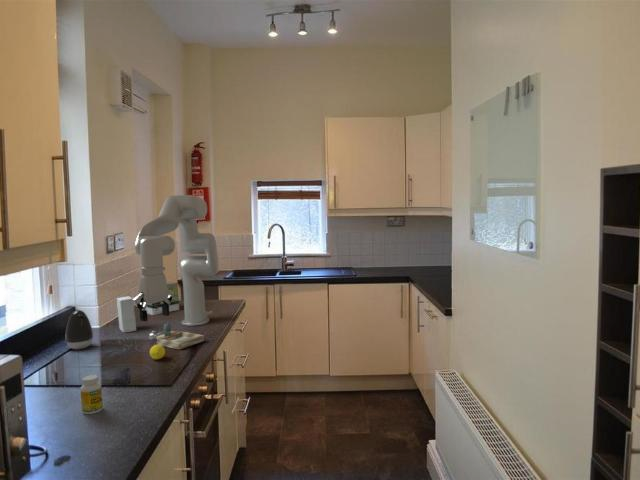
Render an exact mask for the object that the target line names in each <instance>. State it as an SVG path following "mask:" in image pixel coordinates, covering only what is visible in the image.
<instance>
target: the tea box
mask: <svg viewBox="0 0 640 480" xmlns="http://www.w3.org/2000/svg"><path fill="white" fill-rule="evenodd" d="M166 282H167V288H168V290H171V291H173V292H174V294H173V297H172V300H171V302H170V305H169V313H171V312H176V311H179V310H180V303H179V290H178V283H177V282H173V281H168V280H166ZM162 304H163V303H162V302H157V303H153V304H148V306H147V308H146V309H145V310H147V315H151V316H156V315H162Z"/></svg>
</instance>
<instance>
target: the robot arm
mask: <svg viewBox="0 0 640 480" xmlns="http://www.w3.org/2000/svg"><path fill="white" fill-rule="evenodd" d="M207 213H208V205H207V202H206V201H205V199H203V198H201V197H199V196H197V195H192V194H187V195H186V194H184V195H183V194H182V195H176V194H175V195H171V196H167V197H166V199H165V200H164V202H163V204H162V206H161V209H160V211H159V214H158V215H157V217H156V218H153V219H152V220H151V221H148V223H146V224H145V225H143V226H142V227H141V228H140V230H139V232H138V234H137V235H136V238H135V241H134V250H135V252H136V254H138V256H140V263H141V264H140V266H141V267H140V269H141V276H139V280H138V287H137V288H138V289H137V290H138V292H137V294H138V295H136V296H135V297H133V303H134V308H136V309H137V310H139V320H140V322H148V314H147V310H145V309H146V308H147V306H148V304H153V303H157V302H162V303H163V304H162V313H161V315H162V316H166V317H169V316H170V312H169V305H170V302H171V300H172V297H173V294H174V292H173V291H171V290H168V288H167V278H166V275H165V273H164V271H166V267H165V266H164V264H163V263H164V262H163V261H164V260H163V259H164V258H163V257H164V256H165V257H166V256H169V255H172V253H174V251H175V248H176V244H175V243H176V242H175V240H174V238H173V237H171V236H169V235H166V234H168V233H169V234H170V233H171V232H173V231H175V230H177V228H178V234H179V243H180V249H181V252H183V253H184V254H185V255H187V256H184V257H182V258H181V259H180V261H179V269H180V274H181V279H182V291H183V306H184V307H183V309H184V312H183V313H184V319H182V320H181V325H184V326H188V327H189V326H190V327H191V326H194V327H195V326H202V325H206V324H208V323H210V319H209V316H212V315H213V314H214V313H213V310H210V311H206V299H205V285H204V282H203V281H202V279H201V278H200V277H209V276H210V277H211V276H216V275H217V274H218V272H219V258H218V257H219V256H218V247H217V240H216V237H215V235H214V234H213V233H211V232H199V227H198V226H199V225H198V222H197V219H203V218H205V217H206V216H207ZM188 254H189V255H188ZM200 254H201V255H200ZM202 254H203V255H202Z"/></svg>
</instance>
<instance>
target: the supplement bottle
mask: <svg viewBox="0 0 640 480" xmlns="http://www.w3.org/2000/svg"><path fill="white" fill-rule="evenodd" d="M81 381H82V385H81V386H80V389H79V390H80V391H79V392H80V401H81V409H82V410H81V411H82V413H83V414H84V415H94V414H96V413H97V414H98V413H99V412H101V411H103V408H104V406H103V405H104V403H103V394H102V393H103V392H102V391H103V390H102V384H101V383H100V382H99V376H98V375H96V374H90V375H86V376H84V377H83V378H82V379H81Z"/></svg>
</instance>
